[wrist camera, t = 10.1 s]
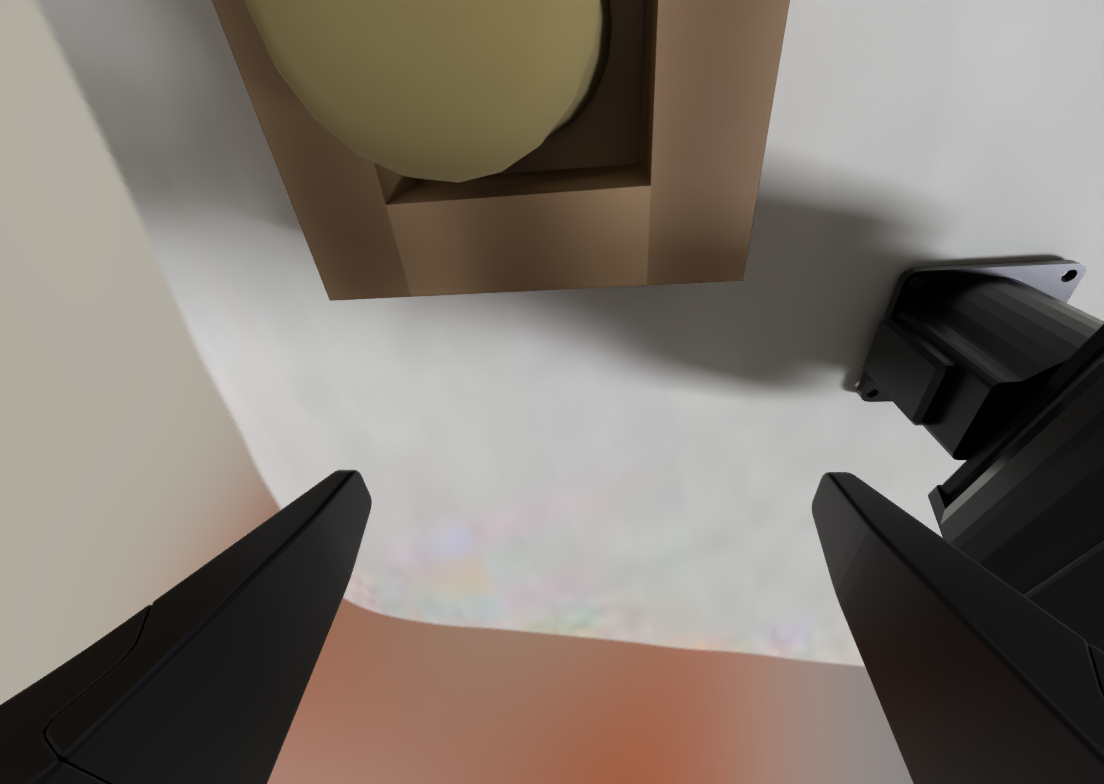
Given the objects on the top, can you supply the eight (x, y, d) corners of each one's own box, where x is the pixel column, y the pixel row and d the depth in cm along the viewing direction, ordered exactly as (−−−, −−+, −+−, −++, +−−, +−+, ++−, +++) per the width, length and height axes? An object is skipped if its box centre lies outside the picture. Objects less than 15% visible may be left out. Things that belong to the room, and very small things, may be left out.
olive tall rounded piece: (385, -34, 14) (-19, -241, 5) (571, -156, 12) (502, -842, 3) (477, 169, 17) (340, 282, 8) (635, 97, 15) (695, 133, 6)
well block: (782, -385, 10) (904, -683, 6) (710, 234, 18) (742, 280, 14) (227, -270, 12) (35, -450, 8) (384, 254, 20) (329, 300, 16)
